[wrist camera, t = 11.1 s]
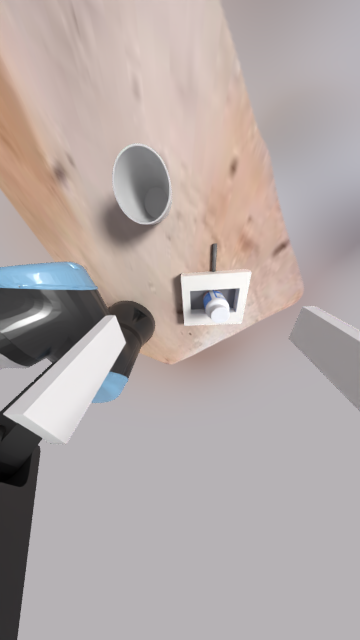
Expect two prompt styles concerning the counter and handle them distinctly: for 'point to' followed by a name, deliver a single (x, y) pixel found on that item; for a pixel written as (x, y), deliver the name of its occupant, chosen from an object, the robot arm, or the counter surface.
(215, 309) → the pill bottle
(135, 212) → the cup
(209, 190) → the counter surface
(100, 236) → the counter surface
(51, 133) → the counter surface
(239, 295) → the dock
